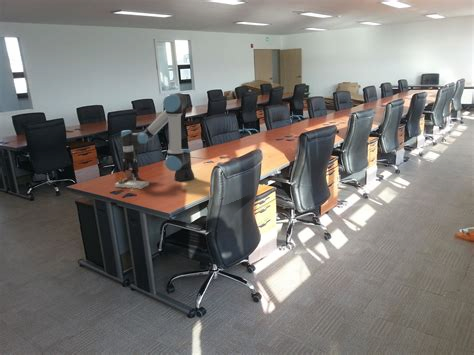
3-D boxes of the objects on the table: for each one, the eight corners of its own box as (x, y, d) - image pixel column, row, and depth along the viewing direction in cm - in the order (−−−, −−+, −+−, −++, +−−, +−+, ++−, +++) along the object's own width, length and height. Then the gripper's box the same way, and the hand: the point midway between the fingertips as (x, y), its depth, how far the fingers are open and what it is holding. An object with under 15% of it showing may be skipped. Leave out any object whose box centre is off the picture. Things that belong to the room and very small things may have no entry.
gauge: (131, 180, 305) (130, 168, 302) (137, 181, 303) (135, 168, 300) (117, 187, 289) (115, 173, 287) (123, 187, 287) (121, 174, 285)
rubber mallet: (137, 175, 319) (133, 139, 311) (145, 176, 316) (141, 139, 308) (127, 179, 308) (122, 141, 300) (134, 180, 305) (130, 142, 297)
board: (124, 183, 300) (123, 179, 299) (148, 185, 291) (148, 181, 291) (115, 186, 291) (115, 183, 290) (140, 188, 282) (140, 185, 282)
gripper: (115, 151, 295) (119, 181, 301) (135, 152, 288) (138, 183, 294) (121, 149, 302) (125, 179, 308) (141, 150, 295) (144, 180, 301)
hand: (131, 181), depth 301 cm, fingers closed on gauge, 5 cm apart
